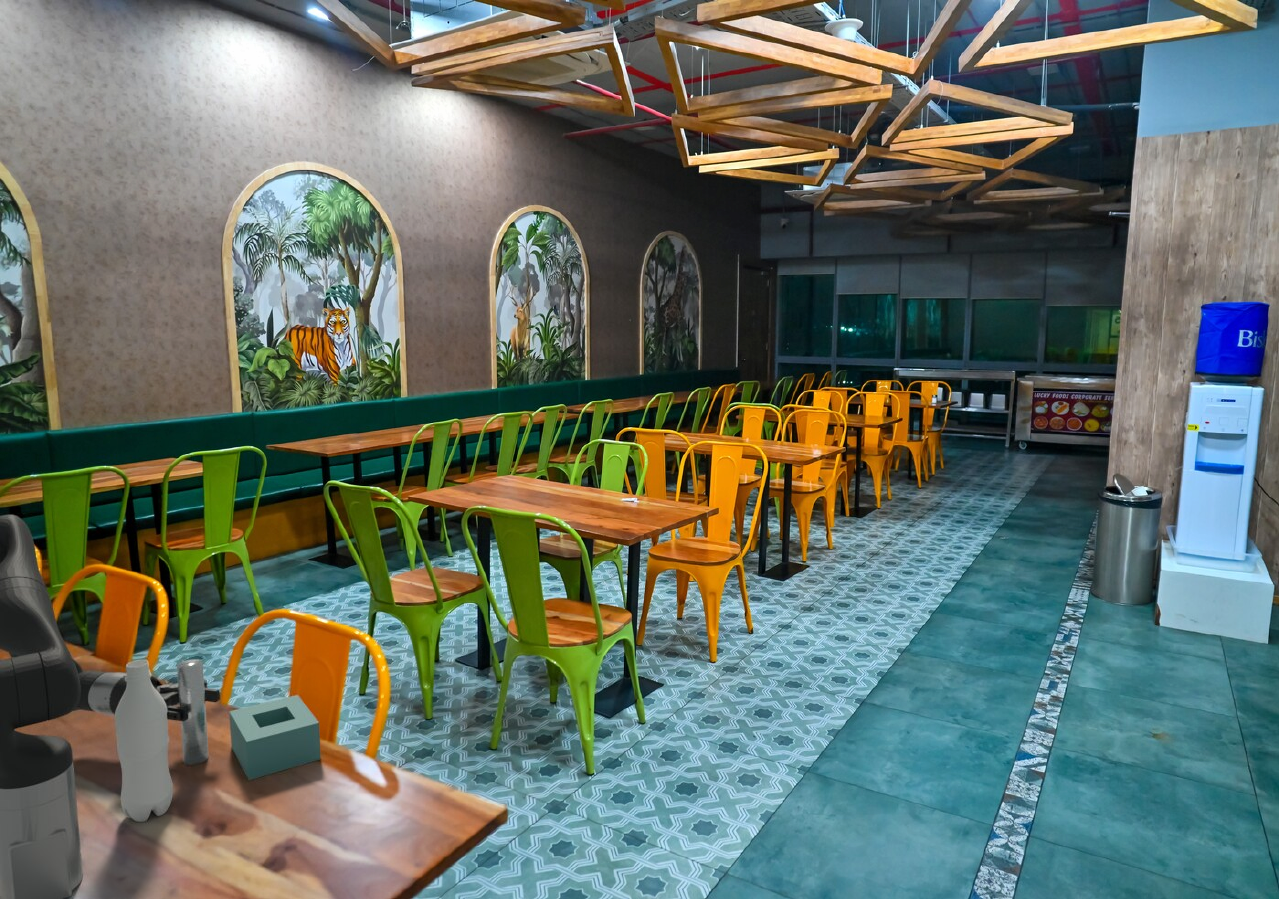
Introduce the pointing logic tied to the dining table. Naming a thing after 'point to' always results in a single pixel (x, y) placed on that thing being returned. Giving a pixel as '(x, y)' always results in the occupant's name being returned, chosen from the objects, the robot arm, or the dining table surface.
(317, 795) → the dining table surface
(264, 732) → the well block
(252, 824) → the dining table surface
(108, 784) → the dining table surface
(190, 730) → the steel post
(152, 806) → the water bottle
